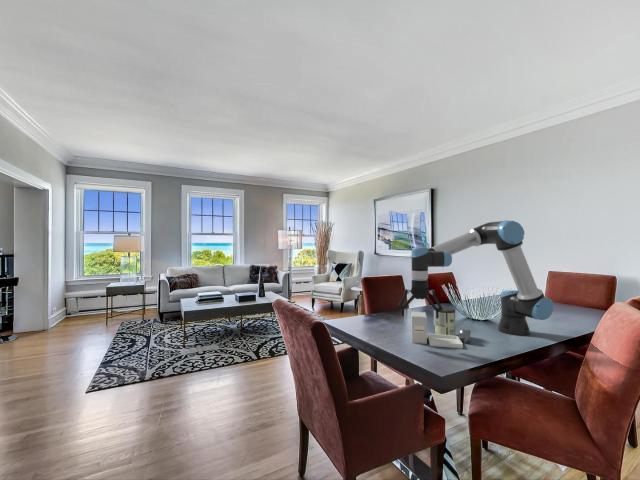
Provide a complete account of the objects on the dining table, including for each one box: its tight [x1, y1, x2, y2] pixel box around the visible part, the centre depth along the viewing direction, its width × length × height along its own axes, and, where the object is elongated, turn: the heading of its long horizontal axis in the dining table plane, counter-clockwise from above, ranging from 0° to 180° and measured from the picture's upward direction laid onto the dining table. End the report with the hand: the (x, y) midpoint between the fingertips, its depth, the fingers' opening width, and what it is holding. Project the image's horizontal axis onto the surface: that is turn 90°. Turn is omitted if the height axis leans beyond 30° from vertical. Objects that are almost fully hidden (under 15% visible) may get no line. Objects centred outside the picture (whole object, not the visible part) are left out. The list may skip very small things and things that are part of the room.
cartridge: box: [458, 328, 471, 345], centre depth 156 cm, size 5×5×6 cm
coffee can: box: [434, 306, 456, 336], centre depth 169 cm, size 10×10×14 cm
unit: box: [410, 311, 428, 345], centre depth 160 cm, size 7×12×13 cm, turn 165°
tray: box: [427, 333, 464, 349], centre depth 156 cm, size 15×15×2 cm
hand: (419, 324), depth 150 cm, fingers open, 13 cm apart
